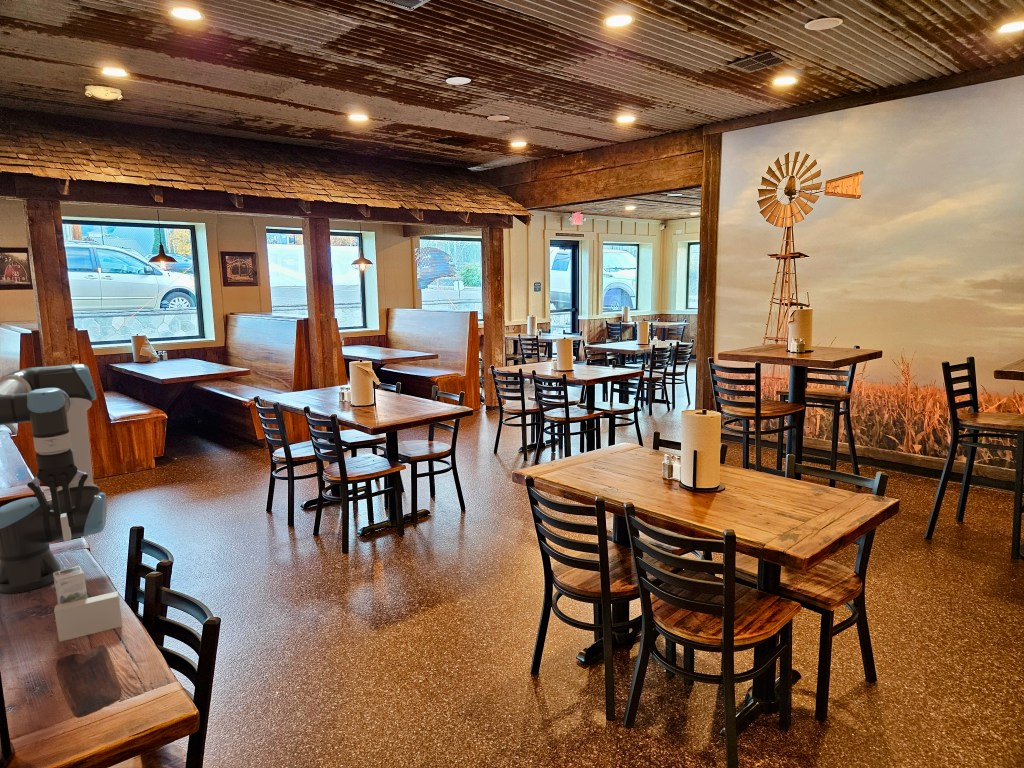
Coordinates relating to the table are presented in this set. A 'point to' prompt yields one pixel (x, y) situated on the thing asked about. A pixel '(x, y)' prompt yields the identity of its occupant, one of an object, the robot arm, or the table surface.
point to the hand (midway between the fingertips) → (67, 539)
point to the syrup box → (70, 585)
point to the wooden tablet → (88, 680)
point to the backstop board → (88, 616)
